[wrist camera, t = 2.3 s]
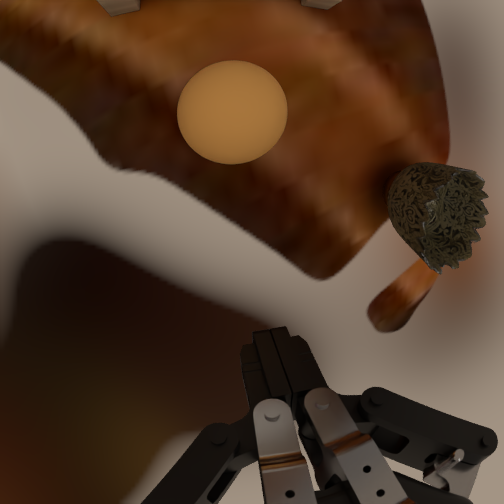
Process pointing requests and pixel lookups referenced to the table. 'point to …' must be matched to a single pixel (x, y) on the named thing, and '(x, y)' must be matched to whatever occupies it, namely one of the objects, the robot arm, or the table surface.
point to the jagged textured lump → (436, 211)
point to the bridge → (119, 3)
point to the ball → (232, 112)
